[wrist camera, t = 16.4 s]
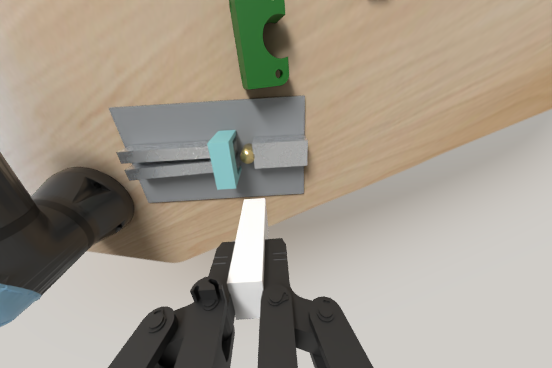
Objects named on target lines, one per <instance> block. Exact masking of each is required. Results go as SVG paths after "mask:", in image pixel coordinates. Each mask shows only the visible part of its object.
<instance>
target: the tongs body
mask: <svg viewBox="0 0 552 368" xmlns="http://www.w3.org/2000/svg"><path fill="white" fill-rule="evenodd" d="M208 142H209V141H194V142H178V143H162V144H145V145H129V146H127V147H125V148H123V149H121V150H120V151H118V152H116V153H117V155H118V157H119V159H120V162H121V164H123V163H140V162H156V161H172V160H188V159H205V158H210V154H209V150H208V145H207V143H208ZM232 142H233V148H234V154H235V156H236V154H237V151H238V145H237V139H233V141H232ZM307 150H308V140H307V138H306V137H305V135H291V136H275V137H259V138H253V142H252V144H250V143H248V144H245V145H244V147H243V149H242V152H241V155H240V159H241V160H242V162H244V163H246V164H250V163H252V162H253V161H254V166H255V169H259V168H275V167H291V166H307Z"/></svg>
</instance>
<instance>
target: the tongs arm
mask: <svg viewBox="0 0 552 368" xmlns="http://www.w3.org/2000/svg"><path fill="white" fill-rule="evenodd" d="M235 160H236V167H237V170H238V168H239V165H240V157H239V152H237V154H236V156H235ZM125 172H126V174H127V176H128V178H129V181H130V180H140V179H150V178H161V177H171V176H182V175H192V174H203V173H213V168H212V163H211V159H210V158H205V159H188V160H172V161H156V162H140V163H134V164H133V165H131V166H130V167H128V168H127V169H125Z"/></svg>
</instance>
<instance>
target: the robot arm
mask: <svg viewBox="0 0 552 368" xmlns="http://www.w3.org/2000/svg"><path fill="white" fill-rule="evenodd" d="M133 213H134V206H133V202H132V200H131V197H130V196H129V194H128V193H127V191H126V190H125V189H124V188H123V187H122V186H121V185H120V184H119V183H118V182H117V181H116V180H114V179H113V178H111V177H110V176H108V175H106V174H104V173H102V172H100V171H97V170H94V169H90V168H84V167H72V168H68V169H65V170H63V171H60V172H58V173H56V174H54V175H52V176H51V177H49V178H48V179H47V180H46V181H45V182H44V183H43V184H42V185H41V186H40V188H39V189H38V190H37V191H36V192H35V193H34V194H33V195H32V196H30V195H29V193H28V192H27V190H26V189H25V188H24V186H23V185H22V183H21V182H20V180H19V179H18V177H17V176H16V175H15V173H14V172H13V170H12V169H11V167H10V166H9V164H8V163H7V162H6V160H5V159H4V157H3V155H2V154H1V152H0V327H1V326H4V325H6V324H7V323H9V322H11V321H12V320H14V319H15V318H16V317H17V316H18V315H19V314H21V313H22V312H23V311H24V310H25V309H26V308H28V307H29V306H30V305H31V304H32V303H33V302H34V301H37V300H38V299H40V297H41V296H42V295H43V293H44V292H45V291H47V289H49V288H50V287H51V285H52V284H54V283H55V282H56V281H57V280H58V279H59V278H60V277H61V276H62V275H63V274H64V273H65V272H66V271H67V269H69V268H70V267H71V266H72V265H73V264H74V263H75V262H76V261H77V260H78V259H79V258H80V257H81V256H82V255H83V254H84V253H85V252H86V251H87V250H88V249H89V248H90V247H91V246H92V245H94V244H95V243H97V242H99V241H101V240H103V239H105V238H107V237H109V236H111V235H113V234H115V233H117V232H119V231H120V230H121V229H123V228H124V227H125V226H126V225H127V223H128V222H129V221H130V220H131V219H132V216H133ZM190 292H191V294H192V297H193V299H194V303H192V304H190V305H188V306H186V307H183V308H180V309H177V310H175V311H173V309H172V308H170V307H160V308H157V309H155V310H153V311H152V312H150V313H149V314H148V315H147V316H146V317H145V318H144V319H143V321H142V322H141V323H140V325H139V326H138V328H137V329H136V330H135V331H134V333H133V334H132V336H131V337H130V338H129V340H128V341H127V343H126V344H125V345H124V346H123V348H122V349H121V351H120V352H119V353H118V355H117V356H116V358H115V359H114V360H113V361H112V363H111V364H110V366H109V367H108V368H230V364H231V357H232V349H233V342H234V334H235V332H234V325H233V323H234V317H236V319H237V320H239V319H254V318H260V329H259V350H258V351H259V352H258V368H298V366H297V355H296V348H299V349H302V350H304V351H307V352H310V355H311V358H312V361H313V364H314V367H315V368H373V366H372V364H371V363H370V361H369V359H368V357H367V355H366V353H365V352H364V350H363V348H362V346H361V344H360V343H359V341H358V339H357V337H356V335H355V333H354V332H353V330H352V328H351V326H350V324H349V322H348V321H347V319H346V317H345V315H344V313H343V311H342V310H341V308H340V307H339V305H338V304H337V303H336V302H335V301H334V300H332V299H331V298H328V297H318V298H316V299H314V300H313V301H311V300H308V299H304V298H301V297H299V296H297V295H296V294H295V293H294V292H293V291H292V289H291V287H290V283H289V273H288V262H287V251H286V244H285V243H284V241H283V239H282V238H281V239H280V238H279V239H268V221H267V211H266V200H265V198H260V199H244V202H243V207H242V212H241V217H240V222H239V227H238V232H237V236H236V241H235V242H222V243H221V245H220V246H219V247H218V248H217V250H216V253H215V257H214V260H213V264H212V267H211V270H210V273H209V276H208V277H204V278H203V279H201V280H199V281H198V282H196V283H195V284H194V286H193V287H192V289H191V291H190Z"/></svg>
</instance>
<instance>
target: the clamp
mask: <svg viewBox="0 0 552 368" xmlns="http://www.w3.org/2000/svg"><path fill="white" fill-rule="evenodd" d="M229 5H230V12H231V18H232V24H233V30H234V37H235V43H236V49H237V55H238V61H239V67H240V73H241V79H242V84H243V88H244V89H248V90H249V89H257V88H265V87H272V86H280V85H283V84H285V83H286V82H287V80H288V78H289V66H288V57H285V58H282V59H279V58H275V57H273V56H272V55H271V54H270V53H269V52H268V51H267V50H266V48H265V45H264V42H263V29H264V25H265V24H266V23H277V22H278V21H279V20H280V19H281V18H282V17H283V16H284V15H285V3H284V0H229ZM277 70H279V71H280V77H279V78H277V77H276V75H275V73H276V71H277Z"/></svg>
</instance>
